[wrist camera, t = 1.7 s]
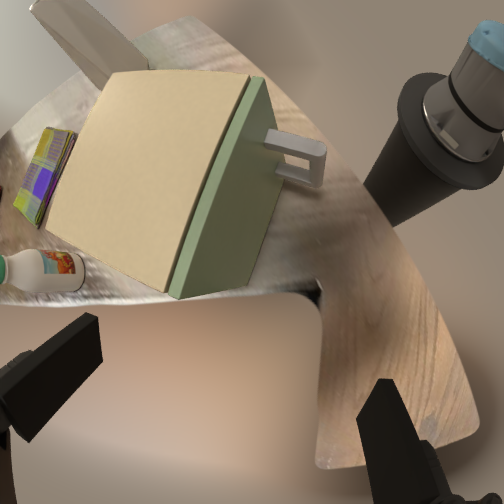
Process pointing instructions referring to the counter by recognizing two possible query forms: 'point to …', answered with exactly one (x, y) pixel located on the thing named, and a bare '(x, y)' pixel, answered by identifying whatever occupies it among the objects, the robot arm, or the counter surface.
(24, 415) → the robot arm
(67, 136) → the dish towel
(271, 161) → the cupboard door
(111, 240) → the cupboard
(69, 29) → the tall faceted taper
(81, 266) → the milk bottle
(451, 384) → the counter surface
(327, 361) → the counter surface
